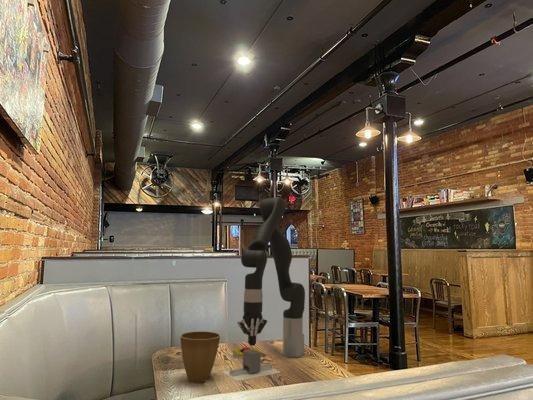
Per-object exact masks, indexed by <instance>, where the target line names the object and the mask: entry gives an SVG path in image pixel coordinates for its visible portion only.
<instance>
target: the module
mask: <svg viewBox="0 0 533 400" xmlns="http://www.w3.org/2000/svg"><path fill="white" fill-rule="evenodd" d="M261 358H262V357H261V353H260V352H258V351H256V350H254V349H250V350H244V351H243V358H242V368H248V367H249V373H255V372H260V367H261V365H262V363H261V362H262V361H261Z"/></svg>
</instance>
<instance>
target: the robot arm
mask: <svg viewBox="0 0 533 400" xmlns="http://www.w3.org/2000/svg"><path fill="white" fill-rule="evenodd" d="M259 210H260V215H261V217H262V221H263V223H261V225H260V226H258V228H257V229H256V231H255V233H254V234H253V235H254V236H253V237H252V240H251V242H250V243H249V244H248V245H247V246H246V248H245V249H244V250H243V252H242V254H241V257H240V261H241V265H242V266H243V267H244V268H253V269H255V271H254V272H252V273H247V274H246V275H245V276H244V292H243V316H242V319H240V321H238V322H237V325H238V327H239V328H240V329H241V331H242V333H243V334H245V335H247V343H248V345H249V346H251V347H253V346H255V345H256V344H257V335H258V334H261V333H262V332H263V329H264V328H265V326H266V324H267V323H268V320H267V319H265V318H263V314H262V313H263V297H264V296H263V278H264V274H265V269H266V266H267V264H268V263H267V262H268V256H267V253H266V250H267V249H268V246H270V250H271V253H272V258H273V261H274V266H275V270H276V275H277V283H278V290H279V294H280V298H281V299H282V301H284V302H289V303H290V304H289V305H290V306H289V308H287V309H284V310H283V313H282V315H283V318H282V356H284V357H287V358H293V359H294V358H301V357H302V356H305V334H304V333H303V331H304V330H303V325H304V324H303V320H304V319H303V316H304V312H305V302H306V290H305V286H304V285H303V284H302V283H300V282H293V281H292V280H291V276H290V267H291V264H292V261H293V251H292V247H291V244H290V243H291V242H290V240H289V239H288V237H286V236H285V234H284V233H282V231H280V229H279V228H278V226H279V223H280V221H281V220H282V218H283V217H284V214H285V212H286V203H285V201H284V199H283V198H282V197H280V196H274V197H270V198H269V197H268V198H264V199H262V200H260V202H259Z"/></svg>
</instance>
